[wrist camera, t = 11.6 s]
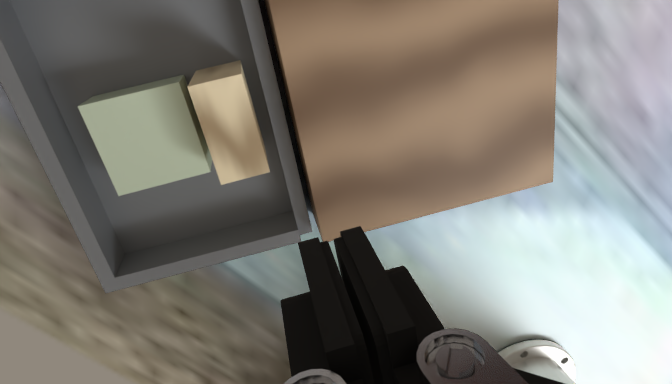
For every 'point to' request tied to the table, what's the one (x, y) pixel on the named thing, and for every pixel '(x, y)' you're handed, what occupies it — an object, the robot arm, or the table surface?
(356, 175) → the tan wooden board
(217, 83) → the maple block
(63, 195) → the tray
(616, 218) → the table surface
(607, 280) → the table surface
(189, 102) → the sage block
